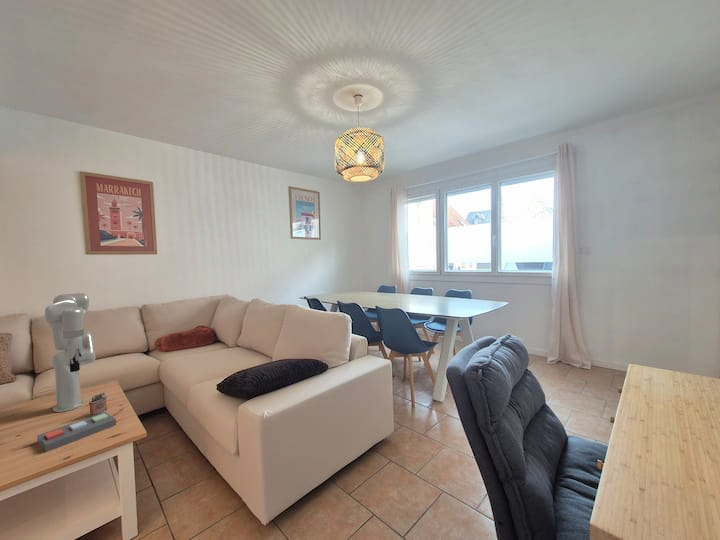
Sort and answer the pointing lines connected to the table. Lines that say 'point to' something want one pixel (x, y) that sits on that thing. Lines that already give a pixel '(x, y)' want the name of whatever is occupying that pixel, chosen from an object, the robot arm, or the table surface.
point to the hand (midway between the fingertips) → (74, 371)
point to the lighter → (98, 404)
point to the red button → (54, 434)
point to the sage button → (99, 418)
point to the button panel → (75, 432)
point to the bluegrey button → (77, 425)
